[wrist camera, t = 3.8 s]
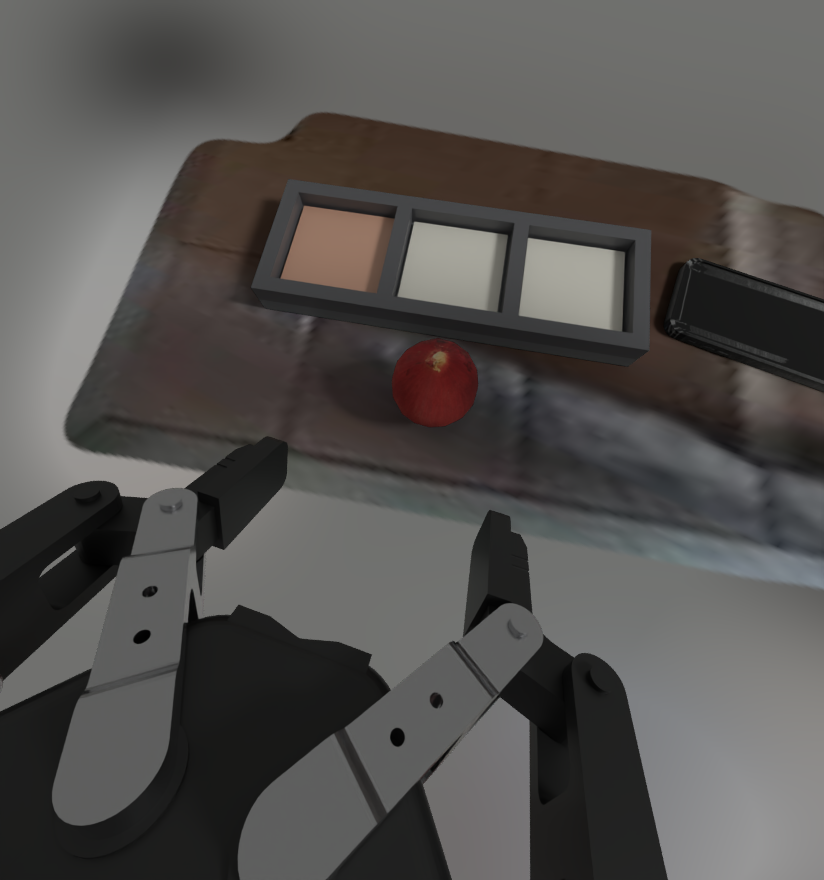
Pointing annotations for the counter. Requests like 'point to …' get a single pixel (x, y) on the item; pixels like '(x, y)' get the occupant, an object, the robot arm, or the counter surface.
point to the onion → (435, 383)
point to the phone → (749, 321)
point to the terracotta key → (338, 249)
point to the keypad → (479, 275)
